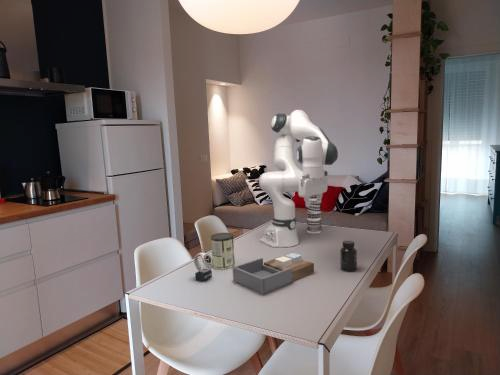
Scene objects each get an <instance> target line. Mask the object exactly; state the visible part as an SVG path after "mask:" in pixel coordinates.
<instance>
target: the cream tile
mask: <svg viewBox="0 0 500 375" xmlns="http://www.w3.org/2000/svg"><path fill="white" fill-rule="evenodd" d="M282 256H283V257H282ZM282 256H279V257H280V258H279V257H276V258H277V259H276V258H274V259H275V265H277V266H280V267H283V268H284V267H287V266H290V265H292V259H291V258H287V257H284V256H285V255H282Z"/></svg>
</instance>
